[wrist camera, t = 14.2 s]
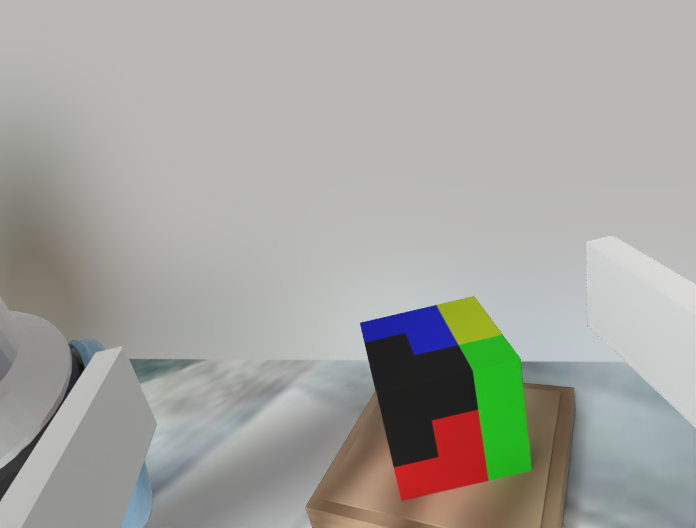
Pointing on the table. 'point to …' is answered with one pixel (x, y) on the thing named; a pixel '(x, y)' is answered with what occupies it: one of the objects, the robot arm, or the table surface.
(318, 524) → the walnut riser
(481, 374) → the puzzle toy
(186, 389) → the table surface
